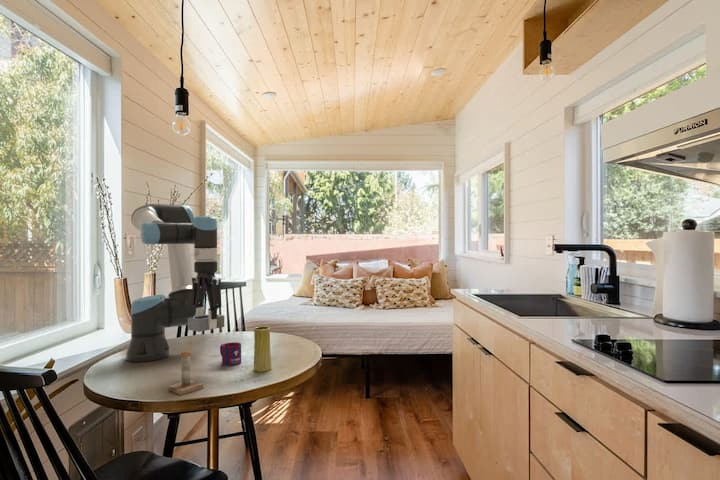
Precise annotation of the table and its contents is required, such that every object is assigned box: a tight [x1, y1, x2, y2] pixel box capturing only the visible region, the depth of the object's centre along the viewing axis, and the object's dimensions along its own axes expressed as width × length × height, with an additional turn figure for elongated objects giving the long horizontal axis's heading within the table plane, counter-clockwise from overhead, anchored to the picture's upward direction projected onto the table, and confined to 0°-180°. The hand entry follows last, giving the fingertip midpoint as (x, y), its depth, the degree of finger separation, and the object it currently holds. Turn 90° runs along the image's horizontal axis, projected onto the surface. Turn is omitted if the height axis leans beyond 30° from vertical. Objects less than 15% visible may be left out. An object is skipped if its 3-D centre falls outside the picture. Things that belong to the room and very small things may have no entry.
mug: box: [219, 341, 242, 367], centre depth 152 cm, size 7×10×7 cm
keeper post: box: [168, 350, 204, 396], centre depth 124 cm, size 7×7×11 cm
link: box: [187, 313, 225, 333], centre depth 143 cm, size 6×10×4 cm, turn 144°
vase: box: [253, 326, 272, 373], centre depth 142 cm, size 6×6×14 cm
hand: (206, 327), depth 143 cm, fingers closed on link, 6 cm apart
